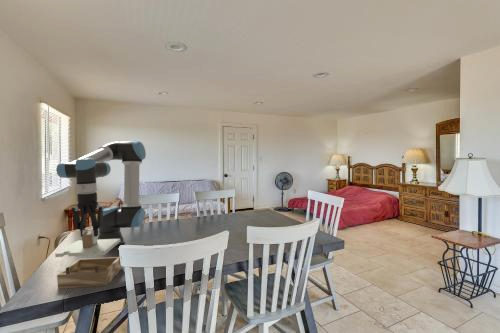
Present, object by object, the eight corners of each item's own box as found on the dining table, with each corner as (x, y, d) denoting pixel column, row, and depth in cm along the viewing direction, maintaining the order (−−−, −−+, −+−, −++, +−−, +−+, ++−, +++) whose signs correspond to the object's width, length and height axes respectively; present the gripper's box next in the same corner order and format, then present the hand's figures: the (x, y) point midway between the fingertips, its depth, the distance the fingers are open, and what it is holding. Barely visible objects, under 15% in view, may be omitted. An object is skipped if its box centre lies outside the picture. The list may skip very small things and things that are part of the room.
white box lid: (77, 243, 124) (76, 228, 123) (120, 241, 125) (119, 226, 125) (55, 257, 108) (54, 239, 107) (104, 254, 109) (103, 237, 109)
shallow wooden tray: (79, 270, 125) (78, 253, 124) (122, 268, 126) (121, 251, 126) (57, 288, 109) (56, 269, 108) (106, 285, 111) (105, 266, 110)
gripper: (62, 194, 111) (66, 247, 112) (101, 193, 112) (104, 245, 113) (73, 191, 118) (76, 241, 120) (109, 190, 119) (112, 239, 121)
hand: (90, 243), depth 116 cm, fingers closed on white box lid, 3 cm apart
